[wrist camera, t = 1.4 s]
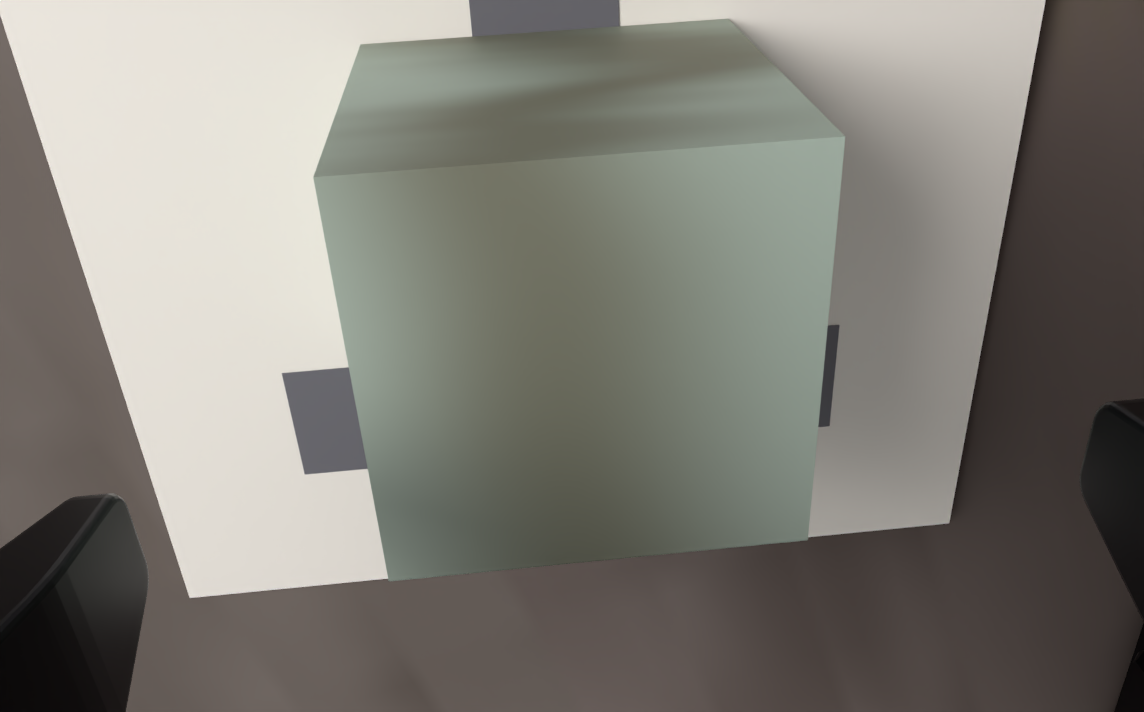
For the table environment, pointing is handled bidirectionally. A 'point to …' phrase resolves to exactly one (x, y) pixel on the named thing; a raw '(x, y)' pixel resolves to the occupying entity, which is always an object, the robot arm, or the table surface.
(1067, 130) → the table surface
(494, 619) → the table surface
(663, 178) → the sage block
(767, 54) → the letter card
